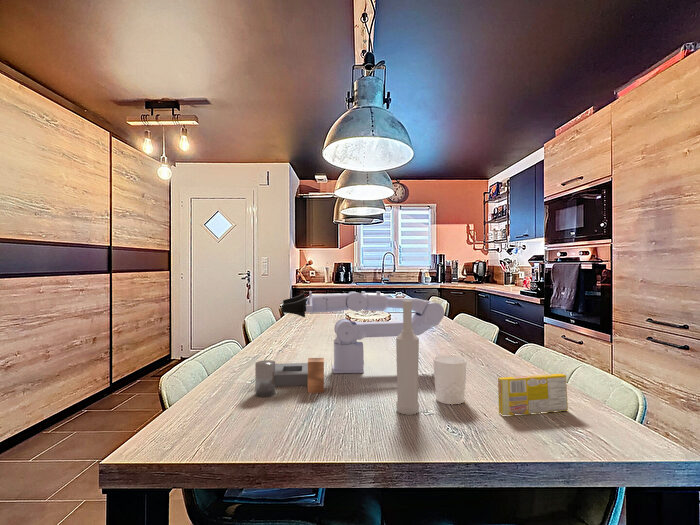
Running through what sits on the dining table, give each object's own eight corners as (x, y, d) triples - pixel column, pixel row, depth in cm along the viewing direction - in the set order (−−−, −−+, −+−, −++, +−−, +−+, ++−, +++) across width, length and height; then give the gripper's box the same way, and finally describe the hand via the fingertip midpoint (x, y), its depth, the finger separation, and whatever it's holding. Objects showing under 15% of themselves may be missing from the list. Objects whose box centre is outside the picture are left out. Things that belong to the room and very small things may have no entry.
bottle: (420, 408, 85) (420, 300, 85) (417, 416, 80) (417, 302, 80) (398, 405, 86) (398, 299, 87) (393, 413, 82) (393, 301, 82)
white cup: (468, 397, 92) (468, 357, 92) (464, 408, 85) (464, 364, 85) (437, 392, 95) (436, 354, 95) (430, 402, 88) (430, 361, 88)
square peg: (323, 387, 100) (323, 357, 100) (323, 392, 96) (323, 361, 96) (308, 387, 99) (308, 358, 100) (307, 392, 95) (307, 362, 95)
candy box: (561, 408, 85) (561, 372, 85) (568, 412, 83) (568, 375, 83) (497, 413, 82) (497, 376, 82) (503, 417, 80) (502, 379, 80)
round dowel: (276, 390, 97) (276, 360, 97) (273, 397, 92) (273, 365, 92) (257, 390, 97) (257, 360, 97) (253, 397, 92) (253, 365, 92)
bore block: (313, 372, 113) (313, 362, 113) (312, 385, 101) (312, 374, 101) (274, 373, 112) (274, 363, 112) (268, 386, 100) (268, 375, 101)
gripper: (324, 287, 123) (283, 289, 121) (326, 294, 108) (280, 297, 107) (325, 307, 123) (284, 310, 122) (327, 318, 109) (281, 321, 107)
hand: (282, 306), depth 114 cm, fingers open, 7 cm apart
